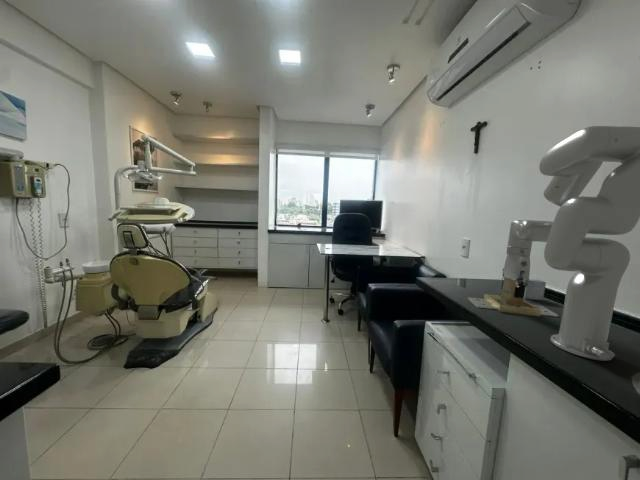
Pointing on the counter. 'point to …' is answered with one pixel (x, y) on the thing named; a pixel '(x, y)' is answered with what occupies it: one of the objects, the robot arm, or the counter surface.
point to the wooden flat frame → (526, 308)
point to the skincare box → (510, 293)
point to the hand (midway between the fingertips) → (511, 293)
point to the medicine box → (535, 289)
